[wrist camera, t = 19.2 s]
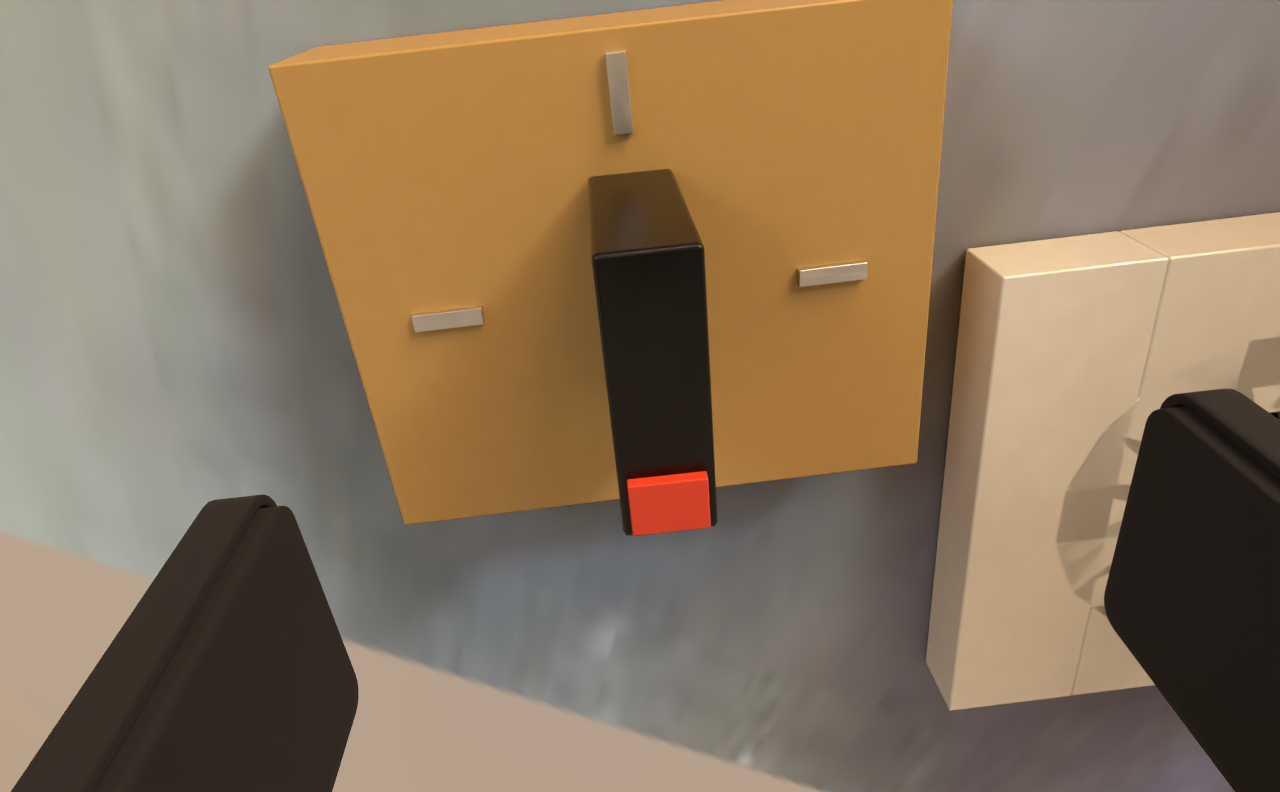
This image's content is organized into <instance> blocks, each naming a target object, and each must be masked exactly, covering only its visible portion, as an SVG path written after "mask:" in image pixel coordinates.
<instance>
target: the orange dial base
mask: <svg viewBox="0 0 1280 792" xmlns="http://www.w3.org/2000/svg"><path fill="white" fill-rule="evenodd" d="M952 6H953V0H723V1H715V2H706V3H697V4H688V5H680V6H671V7H662V8H653V9H645V10H636V11H627V12H618V13H609V14H601V15H592V16H583V17H574V18H566V19H557V20H548V21H539V22H531V23H522V24H513V25H504V26H496V27H487V28H478V29H469V30H460V31H452V32H443V33H434V34H425V35H417V36H408V37H399V38H390V39H382V40H373V41H364V42H355V43H347V44H338V45H329V46H320V47H315V48H313V49H310V50H308V51H305V52H303V53H300V54H298V55H295V56H293V57H290V58H287V59H285V60H282V61H280V62H277V63H275V64H272V65H270V66H269V72H270V76H271V79H272V82H273V86H274V89H275V92H276V96H277V99H278V102H279V106H280V109H281V112H282V116H283V119H284V123H285V126H286V129H287V133H288V136H289V139H290V143H291V146H292V149H293V153H294V156H295V159H296V163H297V166H298V169H299V173H300V176H301V179H302V183H303V186H304V189H305V193H306V196H307V199H308V203H309V206H310V210H311V213H312V216H313V220H314V223H315V226H316V230H317V233H318V236H319V240H320V243H321V246H322V250H323V253H324V256H325V260H326V263H327V266H328V270H329V273H330V276H331V280H332V283H333V286H334V290H335V293H336V297H337V300H338V303H339V307H340V310H341V313H342V317H343V320H344V323H345V327H346V330H347V333H348V337H349V340H350V343H351V347H352V350H353V353H354V357H355V360H356V363H357V367H358V370H359V373H360V377H361V380H362V384H363V387H364V390H365V394H366V397H367V400H368V404H369V407H370V410H371V414H372V417H373V420H374V424H375V427H376V430H377V434H378V437H379V440H380V444H381V447H382V450H383V454H384V457H385V460H386V464H387V467H388V471H389V474H390V477H391V481H392V484H393V487H394V491H395V494H396V497H397V501H398V504H399V507H400V511H401V514H402V517H403V521H404V524H406V525H408V524H417V523H425V522H433V521H442V520H450V519H458V518H466V517H475V516H483V515H491V514H500V513H508V512H516V511H524V510H533V509H541V508H549V507H558V506H566V505H574V504H582V503H591V502H599V501H607V500H616V499H620V497H619V489H618V480H617V472H616V463H615V455H614V446H613V438H612V429H611V421H610V413H609V404H608V396H607V387H606V379H605V370H604V362H603V353H602V345H601V337H600V328H599V320H598V311H597V303H596V294H595V286H594V277H593V269H592V260H591V240H590V219H589V197H588V179H589V178H590V177H592V176H602V175H612V174H622V173H632V172H642V171H651V170H661V169H670V170H672V172H673V174H674V177H675V179H676V181H677V184H678V186H679V189H680V191H681V193H682V196H683V198H684V200H685V203H686V205H687V208H688V210H689V212H690V215H691V217H692V219H693V222H694V224H695V227H696V229H697V231H698V234H699V236H700V238H701V241H702V243H703V246H704V251H705V272H706V292H707V313H708V334H709V355H710V376H711V397H712V418H713V438H714V459H715V480H716V487H723V486H732V485H740V484H748V483H757V482H765V481H773V480H781V479H790V478H798V477H806V476H815V475H823V474H831V473H839V472H848V471H856V470H864V469H873V468H881V467H889V466H897V465H906V464H914V463H916V462H917V453H918V441H919V428H920V415H921V402H922V389H923V377H924V364H925V351H926V338H927V326H928V313H929V300H930V287H931V274H932V262H933V249H934V236H935V223H936V211H937V198H938V185H939V172H940V159H941V147H942V134H943V121H944V108H945V96H946V83H947V70H948V57H949V44H950V32H951V19H952Z"/></svg>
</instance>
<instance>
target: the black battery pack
mask: <svg viewBox="0 0 1280 792" xmlns="http://www.w3.org/2000/svg"><path fill="white" fill-rule="evenodd" d="M588 197H589V219H590V240H591V260H592V269H593V277H594V286H595V294H596V303H597V311H598V320H599V328H600V337H601V345H602V353H603V362H604V370H605V379H606V387H607V396H608V404H609V413H610V421H611V429H612V438H613V446H614V455H615V463H616V472H617V480H618V489H619V497H620V506H621V514H622V522H623V531H624V532H625V534H626V535H633V536H638V535H647V534H657V533H666V532H675V531H684V530H693V529H702V528H710V527H711V526H715V525H716V523H717V501H716V480H715V459H714V438H713V418H712V397H711V376H710V355H709V334H708V313H707V292H706V272H705V251H704V246H703V243H702V241H701V238H700V236H699V234H698V231H697V229H696V227H695V224H694V222H693V219H692V217H691V215H690V212H689V210H688V208H687V205H686V203H685V200H684V198H683V196H682V193H681V191H680V189H679V186H678V184H677V181H676V179H675V177H674V174H673V172H672V170H670V169H661V170H651V171H642V172H632V173H622V174H612V175H602V176H592V177H590V178H589V179H588Z"/></svg>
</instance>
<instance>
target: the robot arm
mask: <svg viewBox="0 0 1280 792" xmlns="http://www.w3.org/2000/svg"><path fill="white" fill-rule="evenodd" d="M1104 607H1105V611H1106V615H1107V617H1108V620H1109V622H1110V624H1111V626H1112V627H1113V629H1114V631H1115V632H1116V633H1117V635H1118V636H1119V637H1120V639H1121V640H1122V641H1123V643H1124V644H1125V645H1126V647H1127V648H1128V649H1129V651H1130V652H1131V653H1132V655H1133V656H1134V657H1135V659H1136V660H1137V661H1138V663H1139V664H1140V665H1141V667H1142V668H1143V669H1144V671H1145V672H1146V673H1147V675H1148V676H1149V677H1150V679H1151V680H1152V681H1153V683H1154V684H1155V685H1156V687H1157V688H1158V689H1159V691H1160V692H1161V693H1162V695H1163V696H1164V697H1165V699H1166V700H1167V701H1168V703H1169V704H1170V705H1171V707H1172V708H1173V709H1174V711H1175V712H1176V713H1177V715H1178V716H1179V717H1180V719H1181V720H1182V721H1183V723H1184V724H1185V725H1186V727H1187V728H1188V729H1189V731H1190V732H1191V733H1192V735H1193V736H1194V737H1195V739H1196V740H1197V741H1198V743H1199V744H1200V745H1201V747H1202V748H1203V749H1204V751H1205V752H1206V754H1207V755H1208V756H1209V758H1210V759H1211V760H1212V762H1213V763H1214V764H1215V766H1216V767H1217V768H1218V770H1219V771H1220V772H1221V774H1222V775H1223V776H1224V778H1225V779H1226V780H1227V782H1228V783H1229V784H1230V786H1231V787H1232V788H1233V790H1234V791H1235V792H1280V420H1279V419H1277V418H1276V417H1275V416H1273V415H1272V414H1270V413H1269V412H1267V411H1266V410H1265V409H1263V408H1262V407H1260V406H1259V405H1258V404H1256V403H1255V402H1253V401H1252V400H1251V399H1249V398H1248V397H1246V396H1245V395H1244V394H1242V393H1240V392H1238V391H1236V390H1234V389H1216V390H1206V391H1197V392H1188V393H1179V394H1174V395H1171V396H1169V397H1167V398H1166V400H1165V401H1164V402H1163V403H1162V405H1161V407H1160V409H1157V410H1155V411H1153V412H1152V413H1151V414H1150V415H1149V416H1148V419H1147V421H1146V424H1145V428H1144V432H1143V436H1142V440H1141V444H1140V449H1139V453H1138V457H1137V461H1136V465H1135V469H1134V473H1133V477H1132V482H1131V486H1130V490H1129V494H1128V498H1127V502H1126V506H1125V510H1124V514H1123V519H1122V523H1121V527H1120V531H1119V535H1118V539H1117V543H1116V547H1115V552H1114V556H1113V560H1112V564H1111V568H1110V572H1109V576H1108V580H1107V585H1106V589H1105V593H1104ZM357 704H358V683H357V679H356V675H355V672H354V670H353V667H352V665H351V662H350V659H349V657H348V654H347V651H346V649H345V646H344V644H343V641H342V638H341V636H340V633H339V631H338V628H337V625H336V623H335V620H334V618H333V615H332V612H331V610H330V607H329V605H328V602H327V599H326V597H325V594H324V592H323V589H322V586H321V584H320V581H319V579H318V576H317V574H316V571H315V568H314V566H313V563H312V561H311V558H310V555H309V553H308V550H307V548H306V545H305V542H304V540H303V537H302V535H301V532H300V529H299V527H298V524H297V522H296V519H295V517H294V515H293V513H292V511H291V510H290V509H289V508H288V507H286V506H277V505H276V503H275V502H274V501H273V500H272V499H271V498H270V497H269V496H266V495H256V496H247V497H238V498H229V499H220V500H213V501H210V502H208V503H207V504H206V505H205V506H204V507H203V508H202V510H201V511H200V513H199V514H198V516H197V517H196V519H195V520H194V522H193V523H192V525H191V526H190V527H189V529H188V530H187V532H186V533H185V535H184V536H183V538H182V539H181V541H180V542H179V544H178V545H177V547H176V548H175V550H174V551H173V553H172V554H171V556H170V557H169V559H168V560H167V562H166V563H165V564H164V566H163V567H162V569H161V570H160V572H159V573H158V575H157V576H156V578H155V579H154V581H153V582H152V584H151V585H150V587H149V588H148V590H147V591H146V593H145V594H144V596H143V597H142V599H141V600H140V602H139V603H138V604H137V606H136V608H135V609H134V610H133V612H132V613H131V615H130V616H129V618H128V619H127V621H126V622H125V624H124V625H123V627H122V628H121V630H120V631H119V633H118V634H117V636H116V637H115V638H114V640H113V641H112V643H111V644H110V646H109V648H108V649H107V651H106V652H105V653H104V655H103V656H102V658H101V659H100V661H99V662H98V664H97V665H96V667H95V668H94V670H93V671H92V673H91V674H90V676H89V677H88V678H87V680H86V681H85V683H84V684H83V686H82V687H81V689H80V690H79V692H78V694H77V695H76V696H75V698H74V699H73V701H72V702H71V704H70V705H69V707H68V708H67V710H66V711H65V712H64V714H63V715H62V717H61V718H60V720H59V721H58V723H57V724H56V726H55V727H54V729H53V730H52V732H51V733H50V735H49V736H48V738H47V739H46V741H45V742H44V744H43V745H42V747H41V748H40V750H39V751H38V752H37V754H36V755H35V757H34V758H33V760H32V761H31V763H30V764H29V766H28V767H27V769H26V770H25V772H24V773H23V775H22V776H21V778H20V779H19V781H18V782H17V784H16V785H15V786H14V788H13V789H12V791H11V792H332V790H333V787H334V783H335V780H336V776H337V773H338V770H339V767H340V763H341V760H342V757H343V753H344V750H345V747H346V743H347V740H348V737H349V733H350V730H351V727H352V724H353V720H354V717H355V714H356V709H357Z"/></svg>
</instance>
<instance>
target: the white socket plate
mask: <svg viewBox="0 0 1280 792" xmlns="http://www.w3.org/2000/svg"><path fill="white" fill-rule="evenodd" d="M1216 389H1234V390H1236V391H1238V392H1240V393H1242V394H1244V395H1245V396H1246V397H1248V398H1249V399H1251V400H1252V401H1253V402H1255V403H1256V404H1258V405H1259V406H1260V407H1262V408H1263V409H1265V410H1266V411H1267V412H1269V413H1272V412H1277V416H1278V419H1279V420H1280V212H1277V213H1268V214H1260V215H1251V216H1243V217H1234V218H1226V219H1217V220H1209V221H1200V222H1192V223H1184V224H1175V225H1167V226H1158V227H1150V228H1141V229H1133V230H1124V231H1120V232H1118V231H1115V232H1107V233H1098V234H1090V235H1081V236H1073V237H1064V238H1056V239H1047V240H1039V241H1030V242H1022V243H1013V244H1005V245H996V246H988V247H979V248H971V249H967V250H966V259H965V269H964V280H963V290H962V300H961V310H960V320H959V330H958V340H957V351H956V361H955V371H954V381H953V391H952V401H951V411H950V422H949V432H948V442H947V452H946V462H945V472H944V482H943V493H942V503H941V513H940V523H939V533H938V543H937V553H936V564H935V574H934V584H933V594H932V604H931V614H930V624H929V634H928V645H927V655H926V663H927V665H928V667H929V669H930V671H931V673H932V675H933V677H934V679H935V681H936V683H937V685H938V688H939V690H940V692H941V694H942V696H943V698H944V700H945V702H946V704H947V706H948V708H949V710H950V711H953V710H961V709H969V708H977V707H985V706H993V705H1001V704H1009V703H1017V702H1025V701H1034V700H1042V699H1050V698H1058V697H1066V696H1070V695H1071V694H1072V695H1080V694H1088V693H1096V692H1105V691H1113V690H1121V689H1129V688H1137V687H1145V686H1153V685H1155V684H1154V683H1153V681H1152V680H1151V679H1150V677H1149V676H1148V675H1147V673H1146V672H1145V671H1144V669H1143V668H1142V667H1141V665H1140V664H1139V663H1138V661H1137V660H1136V659H1135V657H1134V656H1133V655H1132V653H1131V652H1130V651H1129V649H1128V648H1127V647H1126V645H1125V644H1124V643H1123V641H1122V640H1121V639H1120V637H1119V636H1118V635H1117V633H1116V632H1115V631H1114V629H1113V627H1112V626H1111V624H1110V622H1109V620H1108V617H1107V615H1106V611H1105V607H1104V593H1105V589H1106V585H1107V580H1108V576H1109V572H1110V568H1111V564H1112V560H1113V556H1114V552H1115V547H1116V543H1117V539H1118V535H1119V531H1120V527H1121V523H1122V519H1123V514H1124V510H1125V506H1126V502H1127V498H1128V494H1129V490H1130V486H1131V482H1132V477H1133V473H1134V469H1135V465H1136V461H1137V457H1138V453H1139V449H1140V444H1141V440H1142V436H1143V432H1144V428H1145V424H1146V421H1147V419H1148V416H1149V415H1150V414H1151V413H1152V412H1153V411H1155V410H1157V409H1160V407H1161V405H1162V403H1163V402H1164V401H1165V400H1166V398H1167V397H1169V396H1171V395H1174V394H1179V393H1188V392H1197V391H1206V390H1216Z"/></svg>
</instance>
